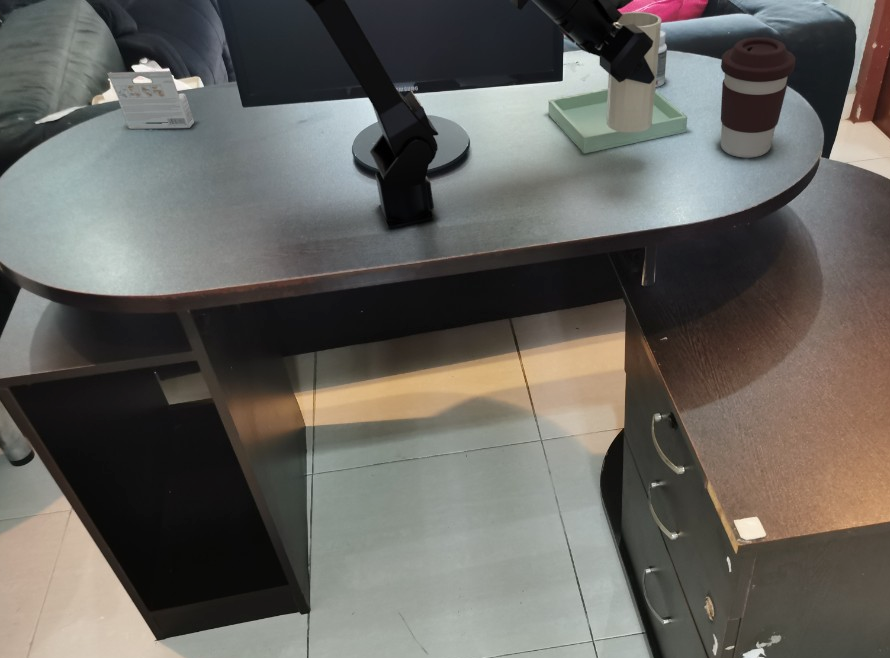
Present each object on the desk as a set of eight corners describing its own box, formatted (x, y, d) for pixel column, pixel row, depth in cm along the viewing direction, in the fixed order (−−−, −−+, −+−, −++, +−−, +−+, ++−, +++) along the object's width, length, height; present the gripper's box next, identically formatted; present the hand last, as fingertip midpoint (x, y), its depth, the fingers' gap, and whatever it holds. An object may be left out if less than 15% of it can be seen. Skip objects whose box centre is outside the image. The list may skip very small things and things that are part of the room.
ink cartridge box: (134, 123, 143) (112, 66, 136) (195, 122, 142) (176, 65, 135) (128, 130, 141) (105, 72, 134) (190, 129, 140) (171, 71, 133)
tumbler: (626, 136, 114) (633, 30, 105) (597, 121, 118) (601, 18, 109) (661, 125, 117) (671, 20, 108) (631, 111, 121) (639, 8, 112)
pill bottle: (669, 80, 144) (672, 30, 138) (657, 90, 141) (660, 39, 136) (644, 75, 146) (647, 26, 140) (632, 85, 143) (634, 35, 138)
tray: (584, 153, 126) (584, 138, 124) (548, 114, 136) (548, 100, 135) (686, 132, 129) (687, 116, 127) (643, 95, 140) (644, 81, 138)
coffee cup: (793, 152, 122) (813, 49, 112) (738, 169, 120) (754, 65, 109) (750, 127, 129) (765, 27, 119) (698, 143, 126) (708, 42, 116)
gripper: (642, -39, 94) (717, 44, 104) (579, -76, 107) (651, 1, 117) (578, 44, 98) (656, 116, 108) (524, -2, 111) (598, 66, 121)
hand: (641, 71), depth 113 cm, fingers closed on tumbler, 6 cm apart
